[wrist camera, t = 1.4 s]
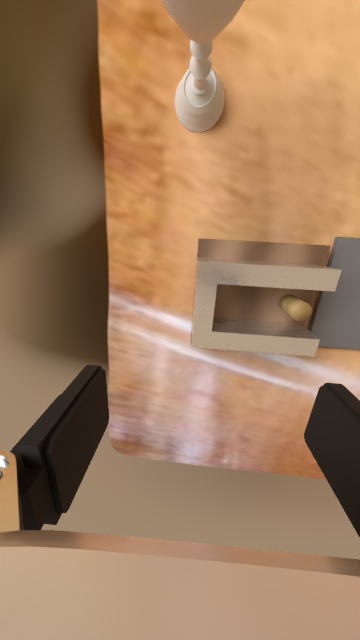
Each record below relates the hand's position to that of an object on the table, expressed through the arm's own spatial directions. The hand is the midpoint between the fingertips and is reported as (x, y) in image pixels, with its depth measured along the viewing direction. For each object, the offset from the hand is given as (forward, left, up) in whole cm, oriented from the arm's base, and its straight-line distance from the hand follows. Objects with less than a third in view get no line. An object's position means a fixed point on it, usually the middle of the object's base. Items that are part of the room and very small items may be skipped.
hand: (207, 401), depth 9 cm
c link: (-5, 0, -18) cm, 18 cm away
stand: (-6, 0, -21) cm, 22 cm away
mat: (-21, -1, -21) cm, 30 cm away
